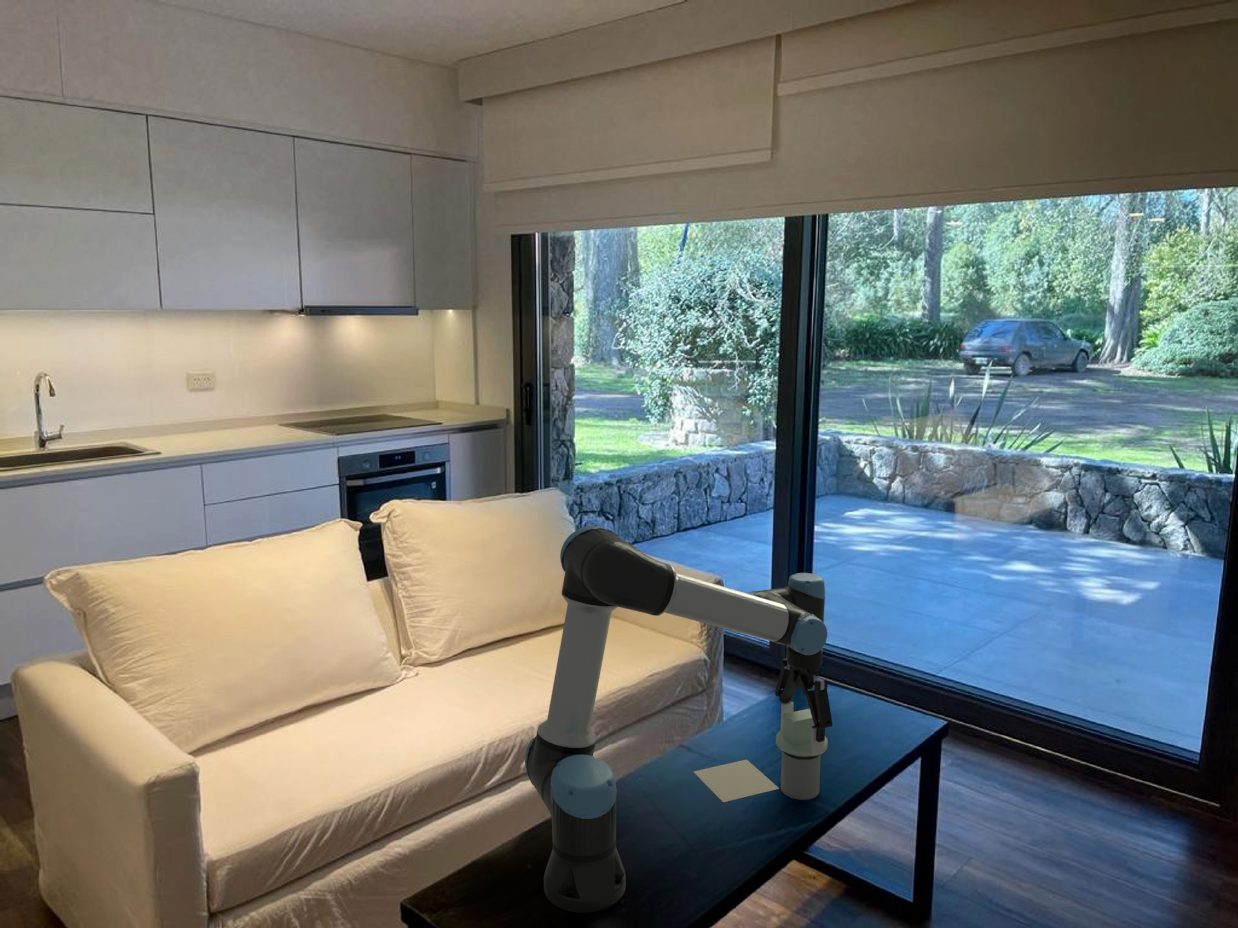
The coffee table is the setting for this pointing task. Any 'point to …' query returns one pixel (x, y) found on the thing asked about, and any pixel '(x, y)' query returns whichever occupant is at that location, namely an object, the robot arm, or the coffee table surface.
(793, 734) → the lid
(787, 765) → the cup
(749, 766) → the mat
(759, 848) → the coffee table surface
